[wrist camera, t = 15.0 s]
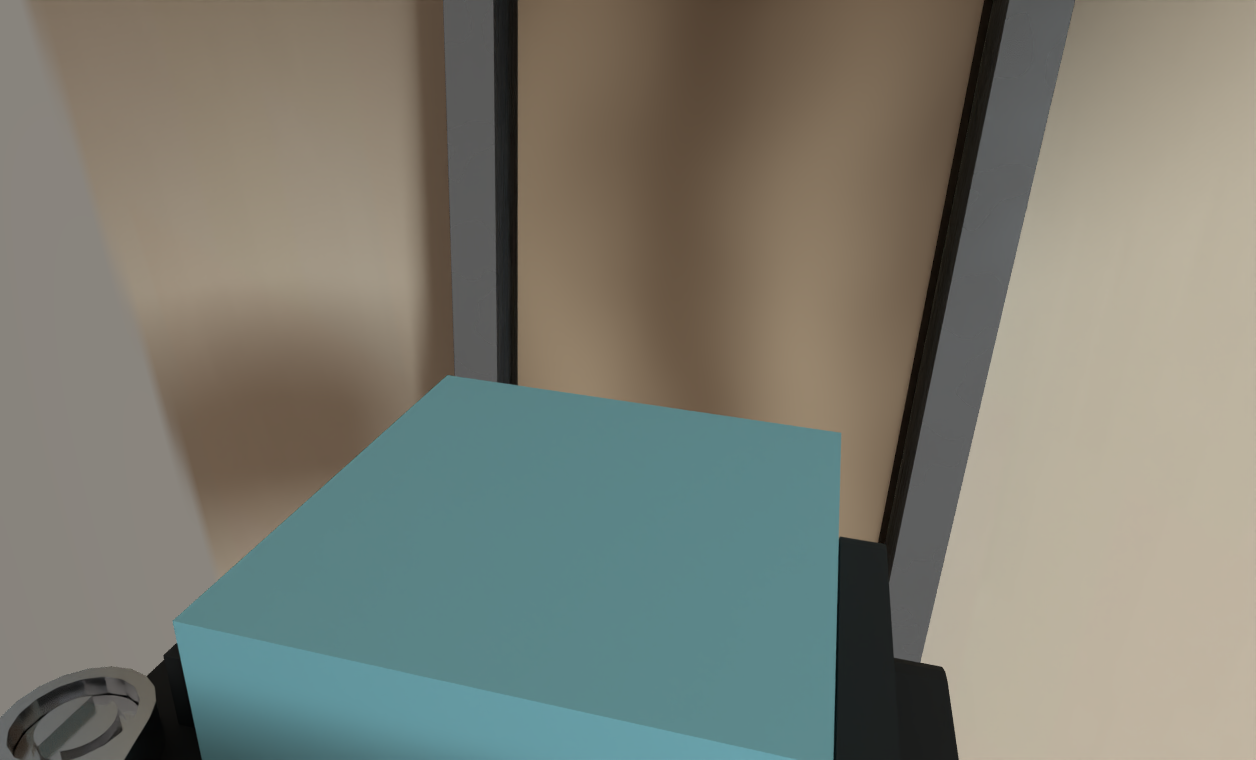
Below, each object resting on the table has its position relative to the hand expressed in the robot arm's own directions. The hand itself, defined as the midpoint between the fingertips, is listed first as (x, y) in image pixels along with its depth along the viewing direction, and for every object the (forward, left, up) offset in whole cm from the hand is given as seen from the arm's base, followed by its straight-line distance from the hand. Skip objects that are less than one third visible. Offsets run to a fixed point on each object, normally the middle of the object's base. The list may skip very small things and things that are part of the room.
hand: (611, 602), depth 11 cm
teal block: (0, 0, -1) cm, 1 cm away
